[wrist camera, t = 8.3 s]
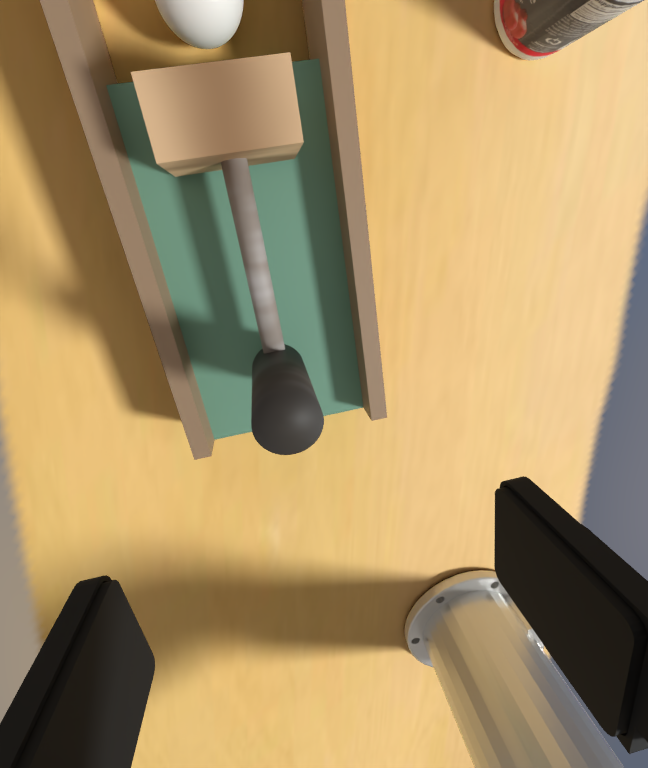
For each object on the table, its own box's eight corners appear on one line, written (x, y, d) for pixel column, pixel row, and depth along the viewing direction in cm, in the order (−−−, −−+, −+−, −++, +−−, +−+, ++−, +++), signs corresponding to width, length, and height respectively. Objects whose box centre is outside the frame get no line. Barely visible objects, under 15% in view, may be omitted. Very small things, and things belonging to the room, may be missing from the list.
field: (308, -105, 18) (326, -217, 14) (367, 390, 28) (389, 421, 24) (44, -83, 17) (-32, -197, 13) (203, 425, 27) (193, 464, 23)
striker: (283, 87, 18) (302, -9, 11) (329, 375, 24) (362, 438, 17) (156, 104, 18) (86, 14, 10) (234, 394, 24) (224, 469, 16)
